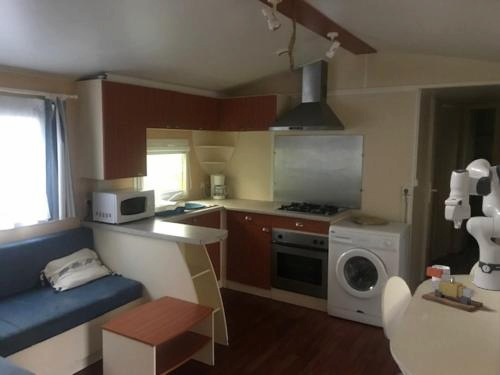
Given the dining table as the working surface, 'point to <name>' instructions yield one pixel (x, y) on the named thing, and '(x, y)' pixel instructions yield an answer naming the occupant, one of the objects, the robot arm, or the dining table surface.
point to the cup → (445, 271)
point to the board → (452, 302)
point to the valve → (453, 290)
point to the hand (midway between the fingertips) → (457, 228)
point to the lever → (439, 274)
